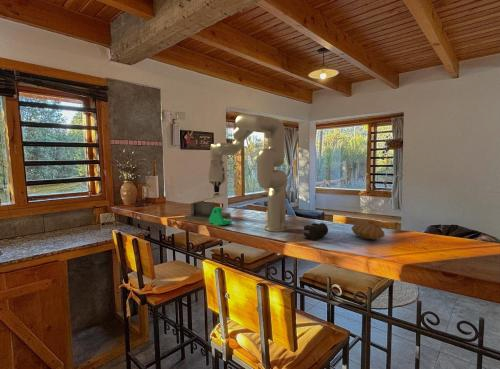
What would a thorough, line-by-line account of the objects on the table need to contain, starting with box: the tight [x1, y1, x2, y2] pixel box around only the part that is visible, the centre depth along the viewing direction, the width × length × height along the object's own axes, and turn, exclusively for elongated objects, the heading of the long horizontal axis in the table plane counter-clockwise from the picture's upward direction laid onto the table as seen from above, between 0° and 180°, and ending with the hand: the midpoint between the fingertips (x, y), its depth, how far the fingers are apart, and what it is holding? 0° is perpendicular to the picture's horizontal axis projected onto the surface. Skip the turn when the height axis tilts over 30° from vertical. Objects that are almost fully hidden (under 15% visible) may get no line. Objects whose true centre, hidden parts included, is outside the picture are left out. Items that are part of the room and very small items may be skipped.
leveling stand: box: [184, 200, 231, 222], centre depth 183 cm, size 22×20×10 cm
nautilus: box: [350, 220, 385, 241], centre depth 131 cm, size 8×22×15 cm
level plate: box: [190, 192, 225, 204], centre depth 182 cm, size 17×14×2 cm
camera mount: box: [208, 206, 233, 227], centre depth 163 cm, size 12×8×10 cm, turn 47°
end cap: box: [303, 222, 329, 242], centre depth 130 cm, size 10×7×7 cm
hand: (216, 192), depth 179 cm, fingers closed
